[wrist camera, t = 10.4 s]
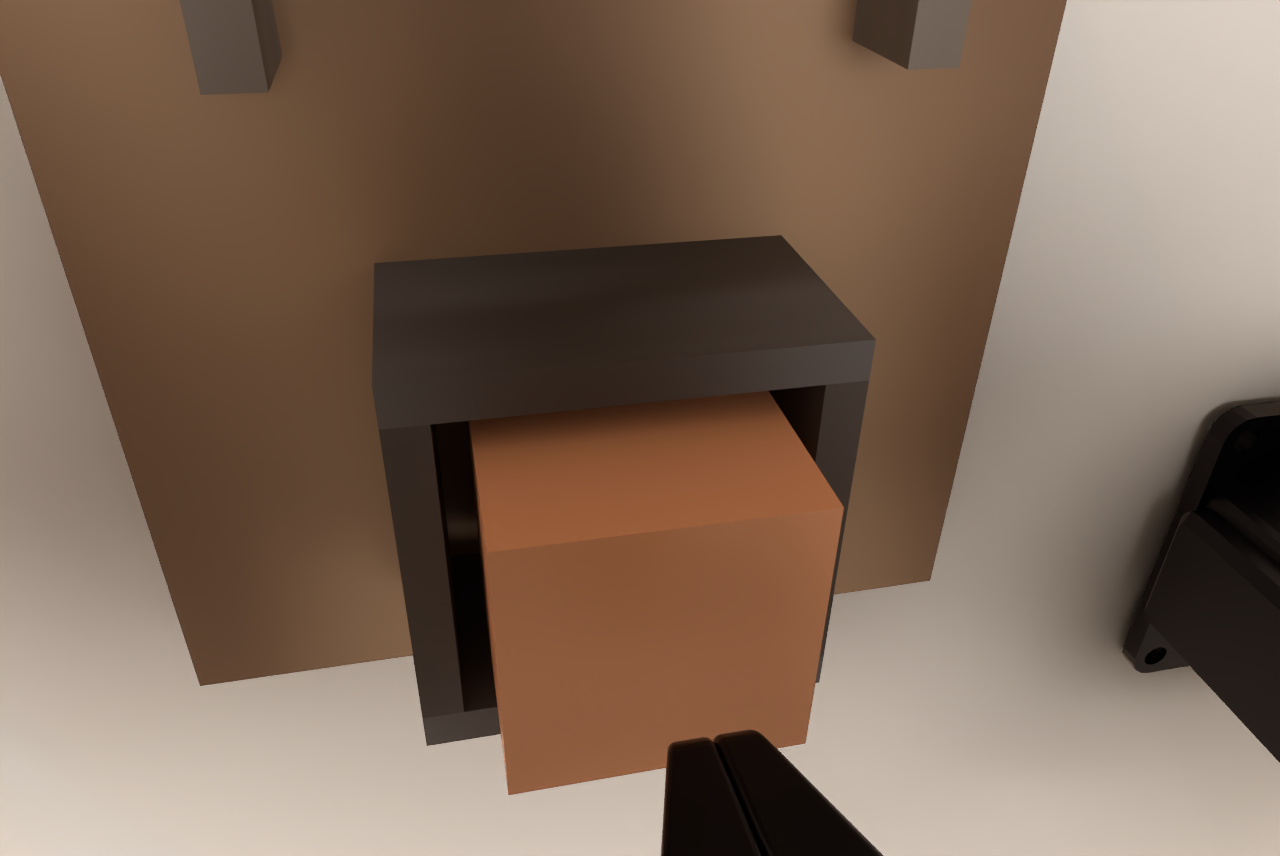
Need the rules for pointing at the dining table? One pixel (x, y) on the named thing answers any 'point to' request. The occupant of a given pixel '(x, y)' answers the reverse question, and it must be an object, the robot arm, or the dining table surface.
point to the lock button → (649, 580)
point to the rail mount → (509, 271)
